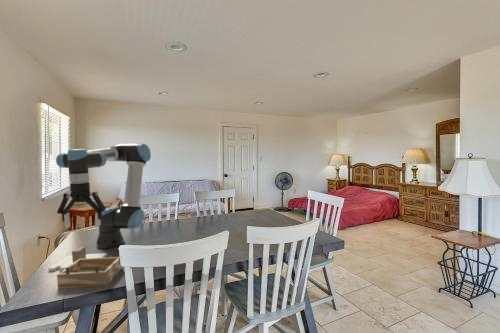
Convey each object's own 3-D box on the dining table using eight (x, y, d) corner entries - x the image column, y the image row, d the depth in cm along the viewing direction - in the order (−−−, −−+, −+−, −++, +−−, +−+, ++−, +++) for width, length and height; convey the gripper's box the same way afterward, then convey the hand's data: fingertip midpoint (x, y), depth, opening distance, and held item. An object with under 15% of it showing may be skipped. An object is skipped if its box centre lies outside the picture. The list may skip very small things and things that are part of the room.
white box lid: (69, 257, 140) (68, 244, 140) (106, 255, 142) (106, 242, 142) (48, 271, 125) (47, 256, 124) (91, 269, 126) (90, 254, 126)
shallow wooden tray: (79, 270, 125) (78, 253, 124) (122, 268, 126) (121, 251, 126) (57, 288, 109) (56, 269, 108) (106, 285, 111) (105, 266, 110)
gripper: (45, 184, 113) (49, 230, 115) (104, 182, 116) (107, 227, 118) (55, 182, 121) (59, 225, 123) (111, 180, 124) (114, 222, 126)
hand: (83, 226), depth 120 cm, fingers open, 13 cm apart
